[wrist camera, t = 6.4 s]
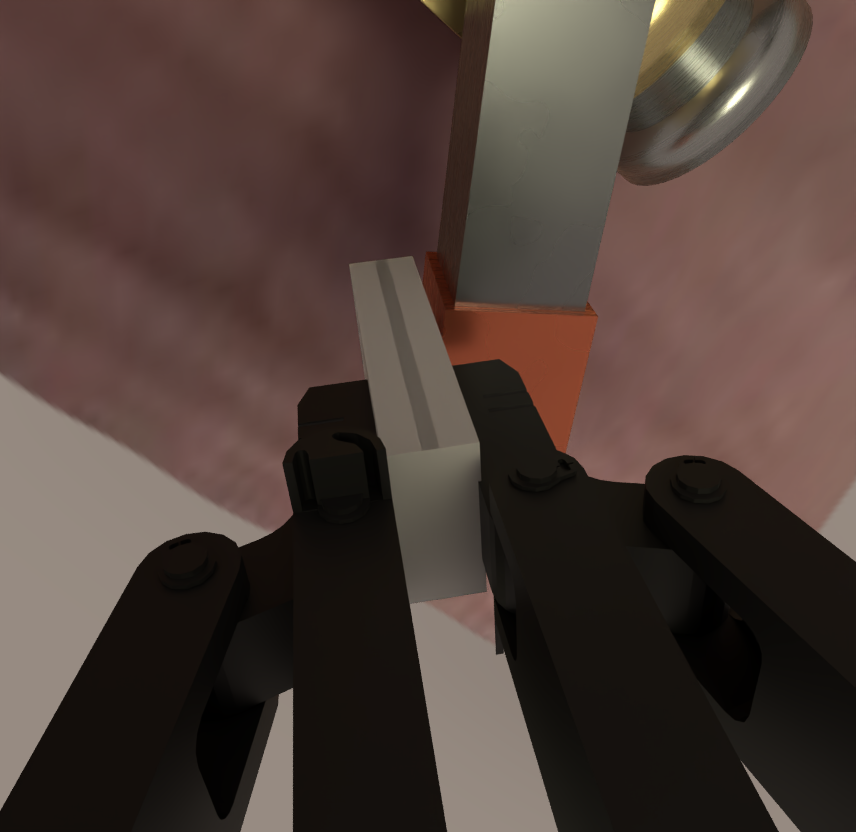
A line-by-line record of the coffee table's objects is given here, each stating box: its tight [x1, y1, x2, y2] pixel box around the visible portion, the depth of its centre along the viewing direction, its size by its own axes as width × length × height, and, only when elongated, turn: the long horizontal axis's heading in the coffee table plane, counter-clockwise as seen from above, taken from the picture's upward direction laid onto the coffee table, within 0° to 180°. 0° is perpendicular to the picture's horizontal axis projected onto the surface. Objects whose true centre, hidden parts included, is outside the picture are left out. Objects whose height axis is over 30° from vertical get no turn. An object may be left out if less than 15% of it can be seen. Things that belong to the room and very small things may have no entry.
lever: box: [423, 0, 656, 453], centre depth 15 cm, size 13×4×3 cm, turn 174°
